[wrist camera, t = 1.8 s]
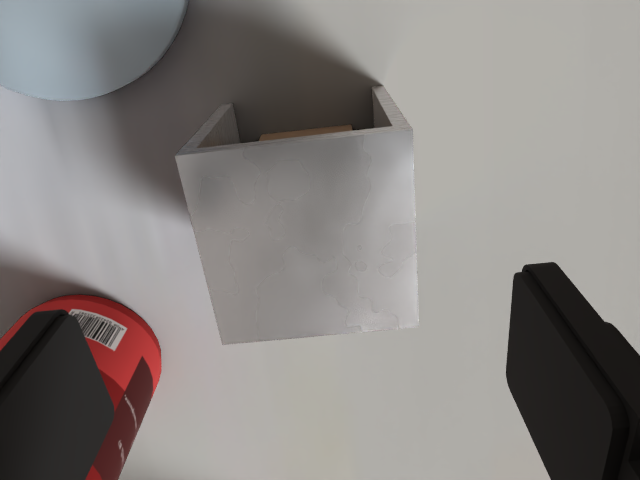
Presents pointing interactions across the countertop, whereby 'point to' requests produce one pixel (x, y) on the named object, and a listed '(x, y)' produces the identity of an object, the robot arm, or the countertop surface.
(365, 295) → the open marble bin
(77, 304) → the canned food
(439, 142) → the countertop surface
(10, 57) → the dish
